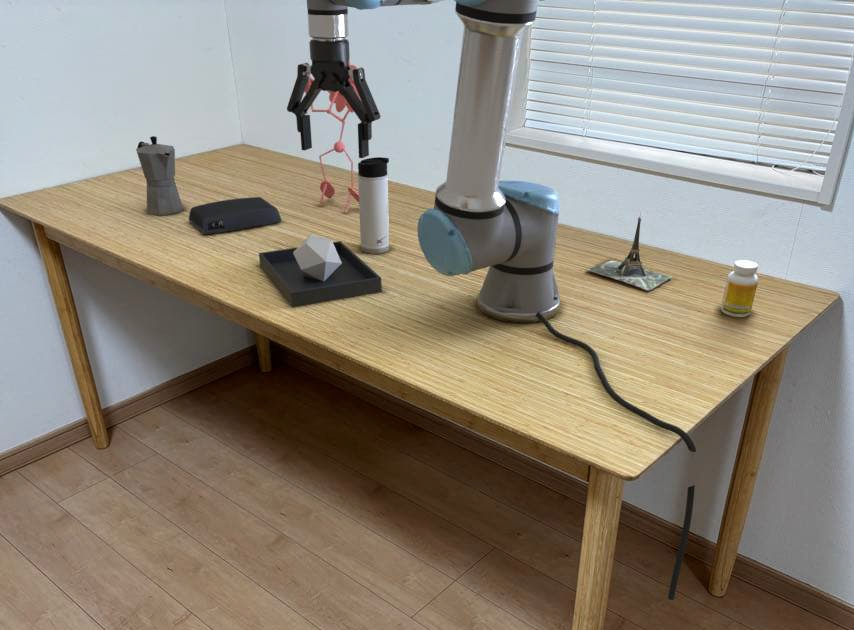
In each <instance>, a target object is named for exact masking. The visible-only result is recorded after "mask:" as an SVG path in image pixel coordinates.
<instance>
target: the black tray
mask: <svg viewBox="0 0 854 630" xmlns="http://www.w3.org/2000/svg"><path fill="white" fill-rule="evenodd" d="M332 242H333V244H334V246H335V249H336V251H337V253H338V255H339V258H340V260H341V262H342V263H341V265H340V266H339V267H338V268H337V269H336V270H335V271H334V272H333V273H332V274H331V275H330V276H329V277H328V278H327V279H326V280H325V281H324V282H323V281H320V280H316V279H313V278H309V277H306V276H304V275H303V273H302V271H301V269H300V267H299V265H298V263H297V260H296V258H295V256H294V254H293V252H294V251H295V250H296V249H297V248H298V247H299V246H298V247H297V246H296V247H291V248H284V249H277V250H270V251H263V252H259V253H258V258H259V266H260V269H262V270H263V272H264V273H265V274H266V276H267V277H268V278H269V280H270V281H271V282H272V283H273V284H274V286H275V287H276V288H277V290H278V291H279V292H280V293H281V294H282V296H283V297H284V298H285V300H286V301H287V302H288V303H289V305H290V306H291V307H292V308H295V307H301V306H307V305H313V304H318V303H324V302H331V301H334V300H341V299H346V298H347V299H348V298H352V297H358V296H363V295H364V296H365V295H369V294H370V295H371V294H375V293H382V292H383V291H382V277H381V276H380V275H379V274H378V273H377V272H375V270H373V268H371V267H370V266H369V265H368V264H367V263H365V262H364V260H362V259H361V258H360V257H359V256H358V255H357V254H356V253H355V252H354V251H353V250H351V249H350V248H349V247H348V246H347V244H345V243H343V241H342V240H338V241H332Z"/></svg>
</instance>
